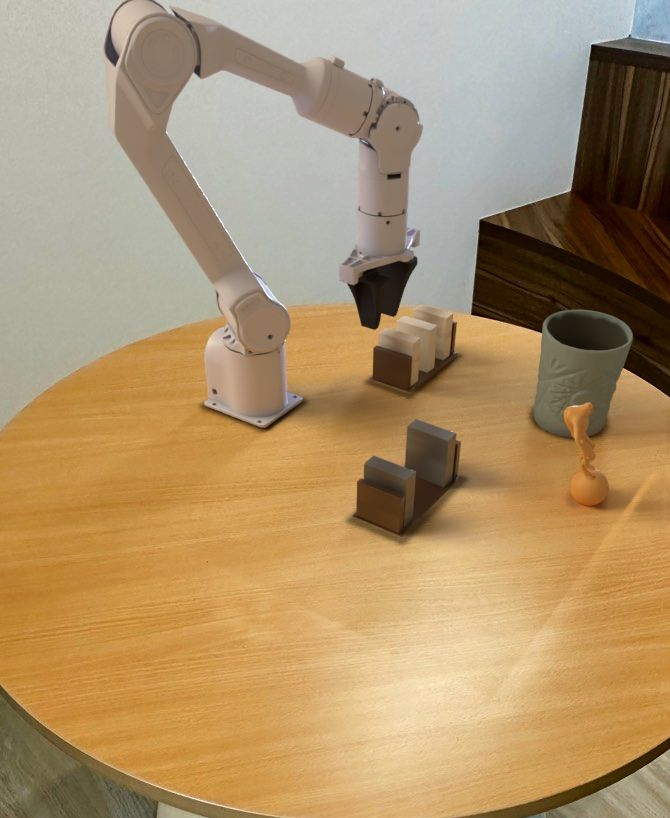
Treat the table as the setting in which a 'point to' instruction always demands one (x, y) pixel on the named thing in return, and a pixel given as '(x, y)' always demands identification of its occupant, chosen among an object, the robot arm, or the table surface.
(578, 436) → the figurine
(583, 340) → the grey green cup
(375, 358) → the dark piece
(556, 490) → the table surface
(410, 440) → the brown book rack
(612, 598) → the table surface
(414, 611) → the table surface
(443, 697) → the table surface
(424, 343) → the white book
